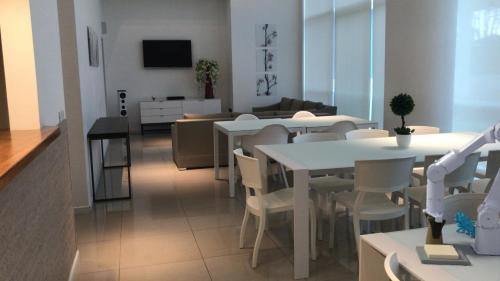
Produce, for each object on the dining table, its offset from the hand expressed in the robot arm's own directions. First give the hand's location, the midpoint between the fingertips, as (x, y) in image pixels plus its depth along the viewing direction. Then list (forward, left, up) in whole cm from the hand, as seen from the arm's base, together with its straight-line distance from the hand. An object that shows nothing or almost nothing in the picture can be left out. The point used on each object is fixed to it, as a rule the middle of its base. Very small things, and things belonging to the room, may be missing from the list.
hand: (434, 235), depth 167 cm
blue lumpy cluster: (-14, -13, -4) cm, 19 cm away
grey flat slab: (0, +11, -3) cm, 12 cm away
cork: (0, 0, -4) cm, 4 cm away
